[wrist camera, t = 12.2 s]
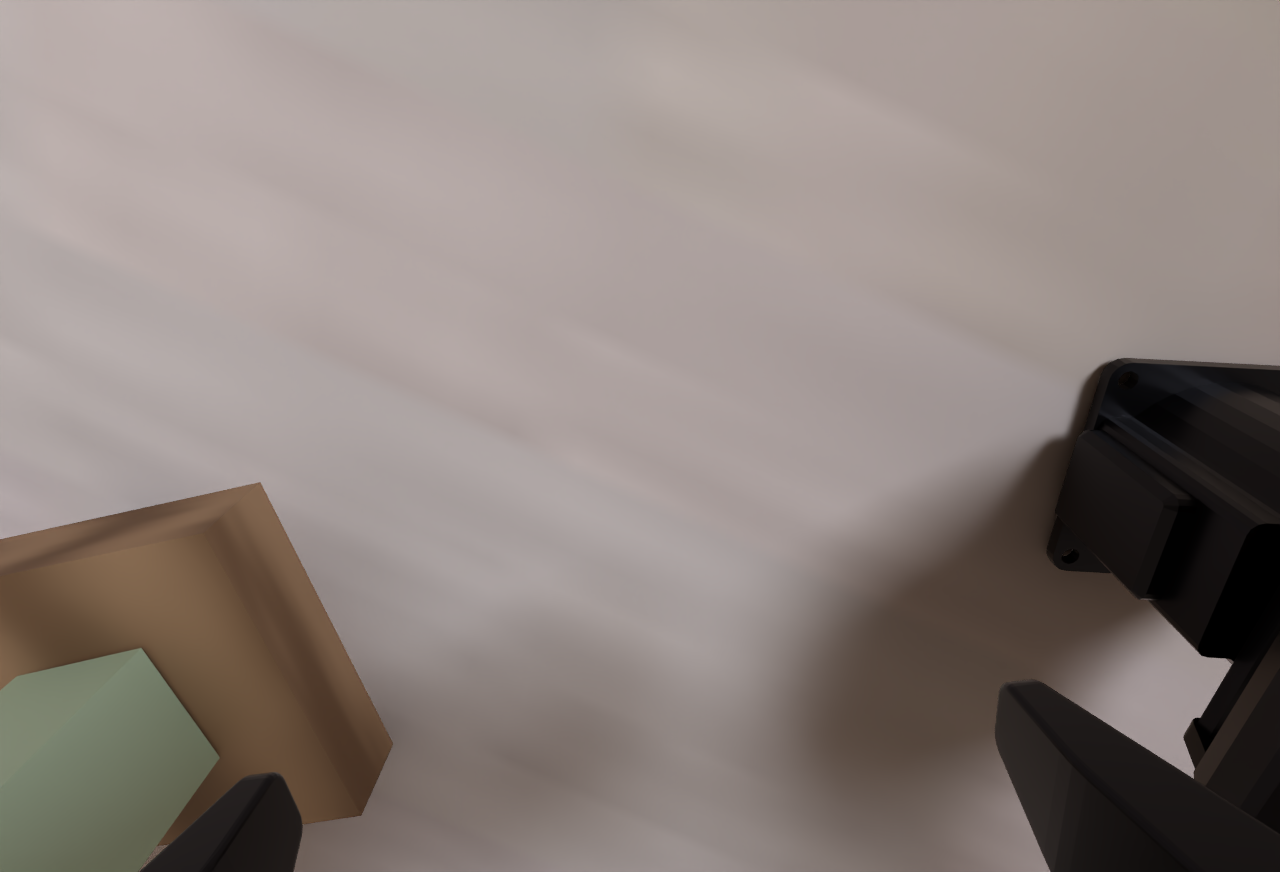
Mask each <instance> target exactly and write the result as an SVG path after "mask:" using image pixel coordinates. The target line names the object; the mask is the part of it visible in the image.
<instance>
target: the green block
mask: <svg viewBox="0 0 1280 872" xmlns="http://www.w3.org/2000/svg"><path fill="white" fill-rule="evenodd" d="M219 758H220V757H219V756H218V754H217V753H216V751H215V750H214V749H213V747H212V746H211V744H210V743H209V742H208V740H207V739H206V737H205V736H204V735H203V733H202V732H201V730H200V729H199V728H198V726H197V725H196V723H195V722H194V721H193V719H192V718H191V716H190V715H189V714H188V712H187V711H186V709H185V708H184V707H183V705H182V704H181V703H180V701H179V700H178V698H177V697H176V696H175V694H174V693H173V691H172V690H171V689H170V687H169V686H168V684H167V683H166V682H165V680H164V679H163V677H162V676H161V675H160V673H159V672H158V670H157V669H156V668H155V666H154V665H153V663H152V662H151V661H150V659H149V658H148V656H147V655H146V654H145V652H144V651H143V650H142V648H138V649H134V650H130V651H125V652H121V653H116V654H112V655H108V656H103V657H99V658H95V659H90V660H86V661H81V662H77V663H73V664H68V665H64V666H60V667H55V668H51V669H46V670H42V671H38V672H33V673H29V674H25V675H20V676H16V677H15V678H14V679H13V680H12V681H11V682H9V683H8V684H7V685H6V686H5V687H4V688H2V689H1V690H0V872H138V871H139V870H140V869H141V867H142V866H143V864H144V863H145V862H146V860H147V859H148V857H149V856H150V855H151V853H152V852H153V850H154V849H155V848H156V846H157V845H158V843H159V842H160V841H161V839H162V838H163V837H164V835H165V834H166V832H167V831H168V830H169V828H170V827H171V825H172V824H173V823H174V821H175V820H176V818H177V817H178V816H179V814H180V813H181V811H182V810H183V809H184V807H185V806H186V804H187V803H188V802H189V800H190V799H191V797H192V796H193V795H194V793H195V792H196V790H197V789H198V788H199V786H200V785H201V783H202V782H203V781H204V779H205V778H206V776H207V775H208V774H209V772H210V771H211V769H212V768H213V767H214V765H215V764H216V762H217V761H218V760H219Z"/></svg>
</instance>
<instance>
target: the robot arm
mask: <svg viewBox="0 0 1280 872" xmlns="http://www.w3.org/2000/svg"><path fill="white" fill-rule="evenodd" d="M1126 372H1130V376H1129V378H1128V380H1127V381H1126V382H1124V383H1123V384H1119V385H1118V380H1119V378H1120V377H1121V375H1123V374H1124V373H1126ZM1055 512H1056V514H1057V518H1056V521H1055V524H1054V527H1053V531H1052V534H1051V537H1050V540H1049V543H1048V547H1047V555H1048V557H1049V559H1050V560H1051V561H1052V563H1053V564H1054V565H1055V566H1056V567H1058V568H1059V569H1061V570H1066V571H1082V572H1100V573H1112V574H1113V575H1114V576H1115V577H1116V578H1117V579H1118V580H1119V581H1120V582H1121V583H1122V584H1123V585H1124V587H1125V588H1126V589H1127V590H1128V591H1129V592H1130V593H1131V594H1132V595H1133V596H1134V597H1135V598H1137V599H1139V600H1148V601H1149V602H1150V603H1151V604H1152V605H1153V606H1154V608H1155V609H1156V610H1157V611H1158V612H1159V613H1160V614H1161V615H1162V616H1163V617H1164V618H1165V619H1166V620H1167V621H1168V622H1169V623H1170V624H1171V625H1172V626H1173V627H1174V628H1175V629H1176V630H1177V631H1178V632H1179V633H1180V634H1181V635H1182V636H1183V637H1184V638H1185V639H1186V640H1187V641H1188V642H1189V643H1190V644H1191V646H1192V647H1193V648H1194V649H1195V650H1196V651H1197V652H1198V653H1199V654H1200V655H1201V656H1205V657H1211V658H1226V659H1227V660H1228V661H1229V662H1230V663H1231V664H1232V666H1231V667H1230V669H1229V671H1228V672H1227V674H1226V676H1225V677H1224V679H1223V681H1222V682H1221V684H1220V686H1219V688H1218V689H1217V691H1216V693H1215V694H1214V696H1213V698H1212V699H1211V701H1210V703H1209V704H1208V706H1207V708H1206V709H1205V711H1204V713H1203V714H1202V716H1201V718H1194V719H1193V720H1192V722H1191V724H1190V726H1189V727H1188V729H1187V731H1186V732H1185V734H1184V741H1185V744H1186V746H1187V749H1188V751H1189V754H1190V757H1191V759H1192V762H1193V765H1194V767H1195V771H1194V779H1193V778H1191V777H1190V776H1188V775H1187V774H1185V773H1184V772H1182V771H1180V770H1179V769H1177V768H1176V767H1174V766H1173V765H1171V764H1169V763H1168V762H1166V761H1165V760H1163V759H1162V758H1160V757H1158V756H1157V755H1155V754H1154V753H1152V752H1151V751H1149V750H1147V749H1146V748H1144V747H1143V746H1141V745H1140V744H1138V743H1136V742H1135V741H1133V740H1132V739H1130V738H1129V737H1127V736H1125V735H1124V734H1122V733H1121V732H1119V731H1118V730H1116V729H1114V728H1113V727H1111V726H1110V725H1108V724H1107V723H1105V722H1103V721H1102V720H1100V719H1099V718H1097V717H1096V716H1094V715H1092V714H1091V713H1089V712H1088V711H1086V710H1085V709H1083V708H1081V707H1080V706H1078V705H1077V704H1075V703H1074V702H1072V701H1070V700H1069V699H1067V698H1066V697H1064V696H1063V695H1061V694H1059V693H1058V692H1056V691H1055V690H1053V689H1051V688H1050V687H1048V686H1047V685H1045V684H1044V683H1042V682H1040V681H1037V680H1032V679H1031V680H1022V681H1014V682H1006V683H1004V684H1003V685H1002V686H1001V688H1000V690H999V696H998V705H997V715H996V724H995V739H996V744H997V747H998V750H999V753H1000V755H1001V758H1002V760H1003V762H1004V765H1005V767H1006V769H1007V772H1008V774H1009V776H1010V779H1011V781H1012V783H1013V786H1014V788H1015V790H1016V793H1017V795H1018V797H1019V800H1020V802H1021V805H1022V807H1023V809H1024V812H1025V814H1026V816H1027V819H1028V821H1029V823H1030V826H1031V828H1032V830H1033V833H1034V835H1035V837H1036V840H1037V842H1038V844H1039V847H1040V849H1041V851H1042V854H1043V856H1044V858H1045V860H1046V863H1047V865H1048V867H1049V869H1050V872H1280V366H1271V365H1252V364H1232V363H1213V362H1193V361H1174V360H1154V359H1135V358H1122V359H1117V360H1115V361H1113V362H1111V363H1110V364H1108V365H1107V366H1106V367H1105V368H1104V370H1103V372H1102V374H1101V377H1100V380H1099V383H1098V386H1097V390H1096V393H1095V396H1094V399H1093V402H1092V406H1091V409H1090V412H1089V415H1088V418H1087V422H1086V425H1085V428H1084V431H1083V433H1082V434H1081V435H1080V436H1079V437H1078V438H1077V442H1076V445H1075V448H1074V451H1073V454H1072V458H1071V461H1070V464H1069V467H1068V471H1067V474H1066V477H1065V480H1064V484H1063V487H1062V490H1061V493H1060V496H1059V500H1058V503H1057V506H1056V510H1055ZM1069 549H1073V550H1072V551H1071V553H1070V554H1068V555H1066V556H1062V554H1063V553H1064V552H1065V551H1067V550H1069ZM302 828H303V827H302V817H301V814H300V811H299V809H298V807H297V805H296V803H295V801H294V798H293V796H292V794H291V792H290V790H289V787H288V785H287V783H286V781H285V779H284V777H283V776H282V775H281V774H279V773H278V772H269V773H261V774H253V775H248V776H245V777H244V778H242V779H241V780H239V781H238V782H237V783H236V784H235V785H234V786H233V787H231V788H230V789H229V790H228V791H227V792H226V793H225V794H224V795H223V796H222V797H221V798H219V799H218V800H217V801H216V802H215V803H214V804H213V805H212V806H211V807H210V808H208V809H207V810H206V811H205V812H204V813H203V814H202V815H201V816H200V817H199V818H198V819H196V820H195V821H194V822H193V823H192V824H191V825H190V826H189V827H188V828H187V829H186V830H184V831H183V832H182V833H181V834H180V835H179V836H178V837H177V838H176V839H175V840H174V841H172V842H171V843H170V844H169V845H168V846H167V847H166V848H165V849H164V850H163V851H162V852H160V853H159V854H158V855H157V856H156V857H155V858H154V859H153V860H152V861H151V862H149V863H148V864H147V865H146V866H145V867H144V868H143V869H142V870H141V871H140V872H294V867H295V863H296V859H297V854H298V850H299V846H300V841H301V837H302Z"/></svg>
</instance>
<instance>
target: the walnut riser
mask: <svg viewBox="0 0 1280 872" xmlns="http://www.w3.org/2000/svg"><path fill="white" fill-rule="evenodd" d="M138 648H142V650H143V651H144V652H145V654H146V655H147V656H148V658H149V659H150V661H151V662H152V663H153V665H154V666H155V668H156V669H157V670H158V672H159V673H160V675H161V676H162V677H163V679H164V680H165V682H166V683H167V684H168V686H169V687H170V689H171V690H172V691H173V693H174V694H175V696H176V697H177V698H178V700H179V701H180V703H181V704H182V705H183V707H184V708H185V709H186V711H187V712H188V714H189V715H190V716H191V718H192V719H193V721H194V722H195V723H196V725H197V726H198V728H199V729H200V730H201V732H202V733H203V735H204V736H205V737H206V739H207V740H208V742H209V743H210V744H211V746H212V747H213V749H214V750H215V751H216V753H217V754H218V756H219V757H220V758H219V760H218V761H217V762H216V764H215V765H214V767H213V768H212V769H211V771H210V772H209V774H208V775H207V776H206V778H205V779H204V781H203V782H202V783H201V785H200V786H199V788H198V789H197V790H196V792H195V793H194V795H193V796H192V797H191V799H190V800H189V802H188V803H187V804H186V806H185V807H184V809H183V810H182V811H181V813H180V814H179V816H178V817H177V818H176V820H175V821H174V823H173V824H172V825H171V827H170V828H169V830H168V831H167V832H166V834H165V835H164V837H163V838H162V839H161V841H160V842H159V843H158V845H157V846H160V845H167V844H170V843H171V842H172V841H174V840H175V839H176V838H177V837H178V836H179V835H180V834H181V833H182V832H183V831H184V830H186V829H187V828H188V827H189V826H190V825H191V824H192V823H193V822H194V821H195V820H196V819H198V818H199V817H200V816H201V815H202V814H203V813H204V812H205V811H206V810H207V809H208V808H210V807H211V806H212V805H213V804H214V803H215V802H216V801H217V800H218V799H219V798H221V797H222V796H223V795H224V794H225V793H226V792H227V791H228V790H229V789H230V788H231V787H233V786H234V785H235V784H236V783H237V782H238V781H239V780H241V779H242V778H244V777H245V776H248V775H253V774H261V773H269V772H278V773H279V774H281V775H282V776H283V777H284V779H285V781H286V783H287V785H288V787H289V790H290V792H291V794H292V796H293V798H294V801H295V803H296V805H297V807H298V809H299V811H300V814H301V817H302V824H308V823H315V822H321V821H328V820H335V819H341V818H348V817H355V816H361V815H362V813H363V811H364V808H365V806H366V804H367V802H368V799H369V797H370V795H371V793H372V790H373V788H374V786H375V784H376V781H377V779H378V777H379V775H380V772H381V770H382V768H383V766H384V763H385V761H386V759H387V757H388V754H389V752H390V750H391V748H392V745H393V743H392V741H391V739H390V737H389V735H388V733H387V731H386V729H385V727H384V725H383V723H382V721H381V719H380V717H379V715H378V713H377V711H376V709H375V707H374V705H373V703H372V701H371V699H370V697H369V696H368V694H367V692H366V690H365V688H364V686H363V684H362V682H361V680H360V678H359V676H358V674H357V672H356V670H355V668H354V666H353V664H352V662H351V660H350V658H349V656H348V654H347V652H346V650H345V648H344V646H343V644H342V642H341V640H340V638H339V636H338V634H337V632H336V631H335V629H334V627H333V625H332V623H331V621H330V619H329V617H328V615H327V613H326V611H325V609H324V607H323V605H322V603H321V601H320V599H319V597H318V595H317V593H316V591H315V589H314V587H313V585H312V583H311V581H310V579H309V577H308V575H307V573H306V571H305V569H304V568H303V566H302V564H301V562H300V560H299V558H298V556H297V554H296V552H295V550H294V548H293V546H292V544H291V542H290V540H289V538H288V536H287V534H286V532H285V530H284V528H283V526H282V524H281V522H280V520H279V518H278V516H277V514H276V512H275V510H274V508H273V506H272V504H271V503H270V501H269V499H268V497H267V495H266V493H265V491H264V489H263V487H262V485H261V483H255V484H251V485H246V486H241V487H237V488H232V489H228V490H223V491H219V492H214V493H210V494H205V495H200V496H196V497H191V498H187V499H182V500H178V501H173V502H169V503H164V504H159V505H155V506H150V507H146V508H141V509H137V510H132V511H128V512H123V513H119V514H114V515H109V516H105V517H100V518H96V519H91V520H87V521H82V522H78V523H73V524H68V525H64V526H59V527H55V528H50V529H46V530H41V531H37V532H32V533H27V534H23V535H18V536H14V537H9V538H5V539H0V690H1V689H2V688H4V687H5V686H6V685H7V684H8V683H9V682H11V681H12V680H13V679H14V678H15V677H16V676H20V675H25V674H29V673H33V672H38V671H42V670H46V669H51V668H55V667H60V666H64V665H68V664H73V663H77V662H81V661H86V660H90V659H95V658H99V657H103V656H108V655H112V654H116V653H121V652H125V651H130V650H134V649H138Z"/></svg>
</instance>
